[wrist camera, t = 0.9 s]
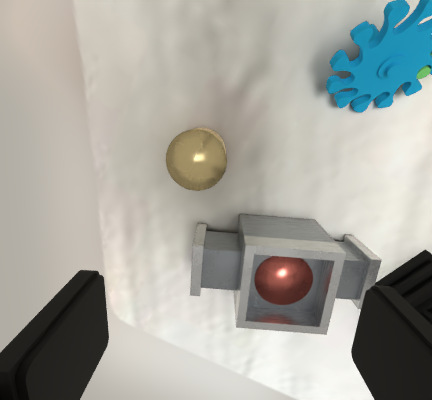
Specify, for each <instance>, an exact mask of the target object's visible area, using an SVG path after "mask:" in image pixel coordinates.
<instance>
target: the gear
mask: <svg viewBox="0 0 432 400" xmlns="http://www.w3.org/2000/svg"><path fill="white" fill-rule="evenodd" d="M409 9H410V6H409V5H408V3H407V2H406V1H405V0H396V1H392V2H389V3H388V4H387V5H386V7H385V9H384V24H383V26H382V28H381V30H380V32H379V31H378V30H377V28H376V27H375V25H374V24H371V25H369V23H368V22H367V21H365V22H363V23H361V24H359V25H358V26H356V27H355V28H354V29H353V30H351V32H350V35H351V37H352V39H353V41H354V43H355V44H357V45H359V47H360V53H359V56H358V57H357V58H356V59H355V60H353V61H349V58H348V56H347V54H346V52H345V51H343V50H339V51H338V52H337V53H336V54H335V55H334V56H333V57H332V59H331V60H330V64H331V67H332V69H333V70H334V71H349V72H351V75H350V76H349V77H347V78H345V79H341V78H340V77H339V76H337V75H332V76H330V77H329V78H328V80H327V84H326V88H327V91H328V93H329V94H333V93H336V92H338V91H340V90H342V89H346V88H354V89H352V90H351V91H341V92H338V93H337V94H335V95H334V98H335V101H336V103H337V105H338V107H339V108H343V107H345V106H346V105H347V104H348V103H350V102H351V101H352V100H354V99H355V98H357V97H359V98H357V99H355V100H354V101H352V103H351V105H352V107H353V110H354V111H356V112H361V113H362V112H363V111H365V110H366V109H367V107H368V105H369V104H370V103H371V101H372V100H374V99H375V98H376V97H377V96H378V97H377V98H376V100H375V102H376V104H377V106H378V108H384V107H389V106H391V105H392V103H393V96H394V93H395V92H396V90H397V89H398V88H399V87H400V86H401V85H402V84H403V83H404V84H403V86H402V90H403V91H404V93H405V95H406V96H409V95H411V94H414V93H416V92H417V91H419V90H421V88H422V85H421V84H420V82H419V81H418V79H421V78H424V77H426V76H427V75H428V74H429V73H430V74H431V75H432V35H431V34H432V19H430V20H428V21H426V22H424V23H422V24H419V23H420V22H421V21H422V20H423V19H424V18H426V17H429V16H431V15H432V0H420V2H419V4H418V6H417V7H416V9H415V10H414V11H413V13H412V14H411V15H410V16H409V17H408V18H407V19H406V20H405V21H404V22H403V23H401V24H400V25H399V26H398V27H396V28H394V27H395V25H396V24H397V23H399V22H400V21H401V20H402V19H403V18H404V17H405V16H406V15H407V13H408V12H409ZM418 24H419V25H418ZM416 77H417V78H418V79H416ZM380 94H381V95H380ZM362 95H364V96H362ZM360 96H362V97H360Z"/></svg>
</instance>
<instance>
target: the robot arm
mask: <svg viewBox="0 0 432 400" xmlns="http://www.w3.org/2000/svg"><path fill="white" fill-rule="evenodd" d="M108 340H109V333H108V321H107V310H106V297H105V285H104V277H103V276H102V275H99V272H98V271H89V270H80V271H79V272H78V273H77V274H76V275H75V276H74V277H73V278H72V279H71V280H70V281H69V282H68V283H67V284H66V285H65V286H64V287H63V288H62V289H61V290H60V291H59V292H58V293H57V294H56V295H55V297H54V298H53V299H52V300H51V301H50V302H49V303H48V304H47V305H46V306H45V307H44V308H43V309H42V310H41V311H40V312H39V313H38V314H37V315H36V316H35V317H34V318H33V319H32V320H31V322H29V324H28V325H27V326H26V327H25V328H24V329H23V330H22V331H21V332H20V333H19V334H18V335H17V336H16V337H15V338H14V339H13V340H12V341H11V342H10V343H9V344H8V345H7V346H6V347H5V348H4V349H3V350H2V352H1V353H0V400H80V398H81V396H82V394H83V392H84V390H85V388H86V386H87V384H88V382H89V381H90V379H91V377H92V375H93V373H94V371H95V369H96V367H97V365H98V363H99V361H100V359H101V357H102V355H103V353H104V351H105V349H106V347H107V344H108ZM351 352H352V358H353V361H354V363H355V365H356V367H357V369H358V370H359V372H360V374H361V376H362V378H363V379H364V381H365V383H366V385H367V387H368V389H369V390H370V392H371V394H372V396H373V398H374V399H375V400H432V325H431V324H430V323H429V322H428V321H427V320H426V319H425V318H424V317H423V316H422V315H421V314H420V313H419V312H417V311H416V310H415V309H414V308H413V307H412V306H411V305H410V304H409V303H408V302H407V301H406V300H405V299H404V298H403V297H402V296H401V295H400V294H399V293H398V292H397V291H396V290H395V289H394V288H392V287H390V286H375V285H374V286H371V288H370V289H368V290H366V292H365V295H364V299H363V304H362V308H361V312H360V316H359V321H358V325H357V329H356V333H355V337H354V342H353V346H352V351H351Z"/></svg>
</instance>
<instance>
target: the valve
mask: <svg viewBox="0 0 432 400" xmlns="http://www.w3.org/2000/svg"><path fill="white" fill-rule="evenodd" d="M206 227H207V224H198V226H197V230H196V234H195V238H194V243H193V252H192V270H191V288H190V295H191V296H200V292H201V288H213V289H226V290H234V304H235V319H236V327H237V328H250V329H262V330H275V331H288V332H300V333H313V334H326V335H327V330H328V326H329V322H330V318H331V314H332V310H333V305H334V301H335V298H340V299H351V300H352V301H353V303H354V304H355V306H356V307H357V308H358V309H361V308H362V304H363V299H364V295H365V292H366V290H368V289H370V288H371V286H374V285H375V281H376V278H377V274H378V271H379V267H380V264H381V259H380V258H379V257H377V256H376V255H375V254H374V253H373V252H372V251H371V250H369V249H368V248H367V247H366V246H365V245H364V244H363V243H361V242H360V241H359V240H358V239H357V238H356V237H354V236H351V235H345V237H344V241H343V242H339V241H334V240H333V239H332V238H331V237H330V235H329V234H328V233H327V232H326V231H325V230H324V229H323V228H322V227H321V226H320V225H319V224H318V223H317V222H316V221H315V220H311V219H299V218H286V217H273V216H261V215H248V214H240V217H239V227H238V233H225V232H212V231H206Z"/></svg>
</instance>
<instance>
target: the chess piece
mask: <svg viewBox="0 0 432 400" xmlns="http://www.w3.org/2000/svg"><path fill="white" fill-rule="evenodd" d="M375 286H390V287H392V288H394V289H395V290H396V291H397V292H398V293H399V294H400V295H401V296H402V297H403V298H404V299H405V300H406V301H407V302H408V303H409V304H410V305H411V306H412V307H413V308H414V309H415V310H416V311H417V312H419V313H420V314H421V315H422V316H423V317H424V318H425V319H426V320H427V321H428V322H429V323H430V324H431V325H432V254H431V253H430V252H428V251H427V250H424V251H423V252H421V253H420V254H418V255H417V256H415V257H414V258H412V259H411V260H409V261H408V262H406V263H405V264H403V265H402V266H400V267H399V268H397V269H396V270H394V271H393V272H391V273H390V274H389V275H387V276H386V277H384V278H383V279H381V280H380V281H378V282H377V283H375Z"/></svg>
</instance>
